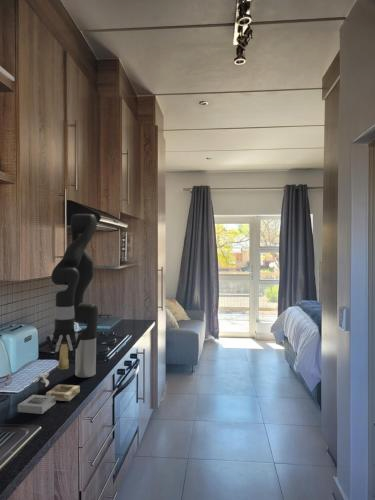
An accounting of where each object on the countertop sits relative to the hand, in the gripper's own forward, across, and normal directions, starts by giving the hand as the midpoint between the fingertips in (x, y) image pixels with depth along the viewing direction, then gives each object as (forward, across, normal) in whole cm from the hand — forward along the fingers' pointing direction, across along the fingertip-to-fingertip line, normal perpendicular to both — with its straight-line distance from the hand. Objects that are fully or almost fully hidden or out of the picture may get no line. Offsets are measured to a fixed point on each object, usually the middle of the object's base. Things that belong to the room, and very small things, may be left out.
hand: (63, 359), depth 145 cm
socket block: (+14, -9, -8) cm, 19 cm away
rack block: (+14, 0, 0) cm, 14 cm away
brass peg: (+3, 0, 0) cm, 3 cm away
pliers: (+15, -9, +21) cm, 27 cm away
